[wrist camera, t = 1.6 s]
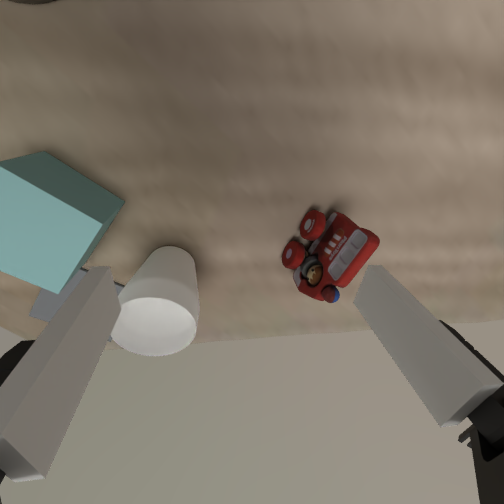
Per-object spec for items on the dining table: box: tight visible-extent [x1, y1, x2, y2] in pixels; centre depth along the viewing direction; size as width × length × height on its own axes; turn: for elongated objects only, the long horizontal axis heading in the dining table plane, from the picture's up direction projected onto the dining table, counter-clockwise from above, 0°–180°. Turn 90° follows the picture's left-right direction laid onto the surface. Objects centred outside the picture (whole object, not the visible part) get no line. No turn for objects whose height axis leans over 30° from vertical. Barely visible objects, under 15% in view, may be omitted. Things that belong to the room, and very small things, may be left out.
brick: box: [0, 151, 125, 294], centre depth 26 cm, size 9×11×7 cm
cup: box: [110, 246, 200, 356], centre depth 30 cm, size 9×9×12 cm
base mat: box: [29, 268, 125, 342], centre depth 36 cm, size 12×12×1 cm
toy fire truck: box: [282, 210, 380, 303], centre depth 32 cm, size 7×12×10 cm, turn 154°
